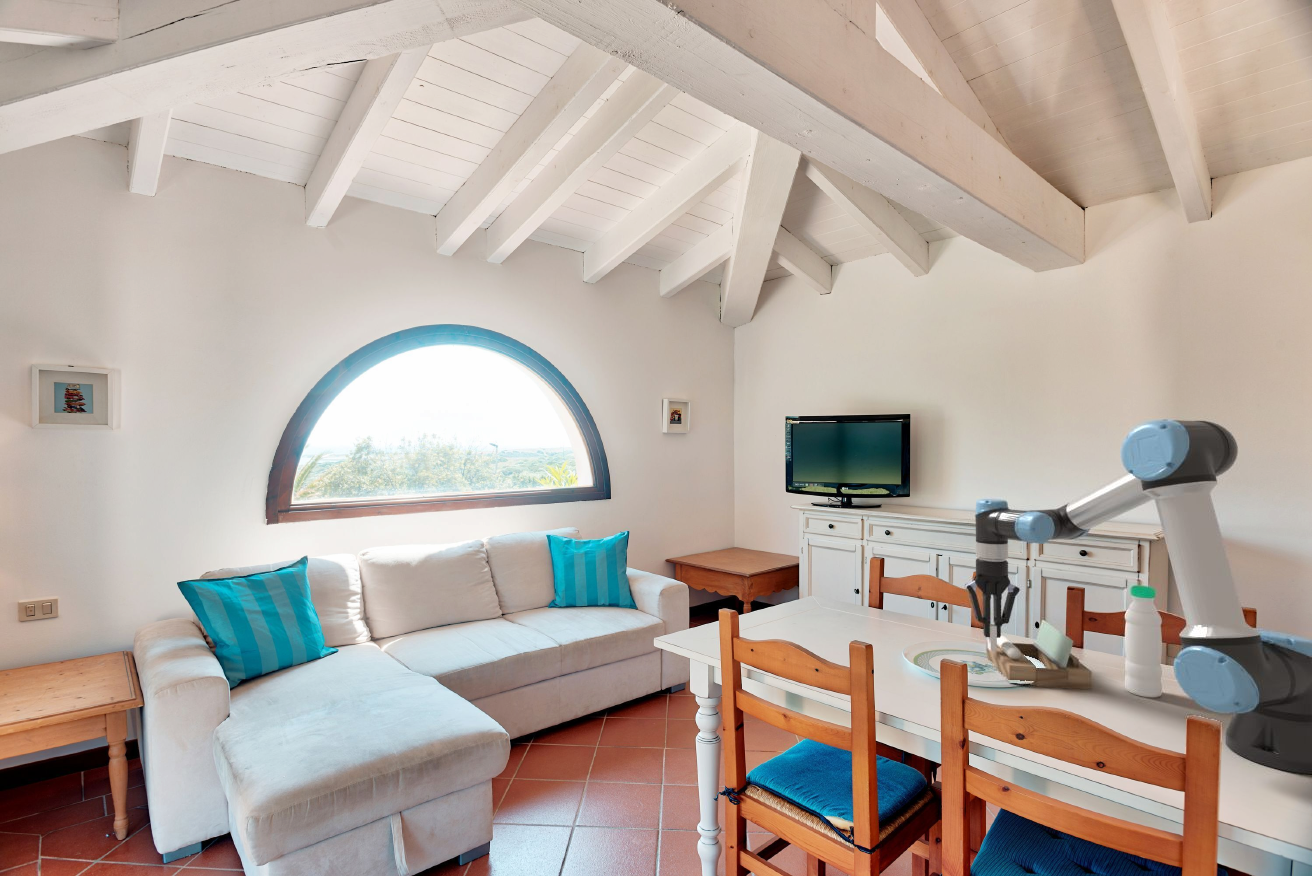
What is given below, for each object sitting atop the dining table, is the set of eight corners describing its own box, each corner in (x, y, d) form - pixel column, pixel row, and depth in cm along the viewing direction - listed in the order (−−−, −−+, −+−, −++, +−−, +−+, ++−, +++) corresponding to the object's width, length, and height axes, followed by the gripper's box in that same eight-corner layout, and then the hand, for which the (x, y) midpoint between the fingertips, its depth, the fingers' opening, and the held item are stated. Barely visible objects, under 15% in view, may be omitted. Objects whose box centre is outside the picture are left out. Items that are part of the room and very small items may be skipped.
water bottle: (1168, 699, 152) (1168, 590, 153) (1133, 697, 154) (1133, 589, 154) (1152, 688, 159) (1151, 584, 159) (1119, 686, 161) (1118, 583, 161)
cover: (1060, 669, 161) (1064, 670, 161) (1068, 639, 160) (1073, 641, 160) (1032, 645, 179) (1036, 646, 179) (1040, 619, 179) (1044, 620, 179)
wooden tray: (1092, 690, 158) (1092, 663, 158) (1010, 684, 162) (1010, 658, 162) (1058, 661, 179) (1058, 638, 179) (985, 656, 183) (985, 634, 183)
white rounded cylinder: (1022, 661, 165) (1022, 649, 165) (1009, 660, 166) (1009, 648, 166) (1006, 645, 178) (1006, 634, 178) (994, 645, 179) (994, 634, 179)
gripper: (1014, 557, 175) (1014, 646, 175) (961, 555, 178) (961, 644, 177) (1024, 562, 168) (1024, 655, 168) (968, 560, 170) (969, 652, 170)
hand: (992, 649), depth 172 cm, fingers closed
